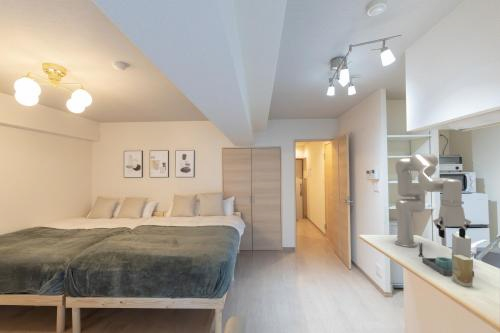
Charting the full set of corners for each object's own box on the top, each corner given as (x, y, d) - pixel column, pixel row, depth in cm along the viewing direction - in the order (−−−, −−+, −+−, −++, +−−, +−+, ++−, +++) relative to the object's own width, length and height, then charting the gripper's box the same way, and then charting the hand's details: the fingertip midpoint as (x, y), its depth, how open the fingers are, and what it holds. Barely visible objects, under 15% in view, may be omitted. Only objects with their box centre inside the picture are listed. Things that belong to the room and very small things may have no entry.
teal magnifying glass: (432, 264, 134) (432, 254, 134) (448, 264, 134) (447, 254, 134) (449, 274, 122) (448, 262, 122) (466, 274, 121) (466, 263, 121)
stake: (417, 255, 149) (417, 242, 149) (421, 255, 149) (421, 242, 149) (420, 257, 147) (419, 243, 147) (424, 257, 147) (424, 243, 147)
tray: (422, 262, 139) (422, 257, 139) (448, 262, 137) (448, 258, 138) (444, 275, 121) (444, 270, 121) (474, 276, 120) (473, 271, 120)
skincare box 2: (451, 280, 116) (451, 254, 116) (460, 280, 117) (460, 254, 117) (464, 287, 110) (464, 259, 110) (473, 286, 110) (473, 259, 110)
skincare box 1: (451, 260, 142) (451, 232, 142) (466, 261, 139) (466, 234, 139) (456, 265, 134) (455, 236, 134) (472, 267, 131) (471, 237, 131)
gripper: (464, 202, 128) (464, 235, 128) (429, 202, 129) (429, 234, 130) (476, 205, 120) (476, 239, 121) (438, 204, 122) (438, 239, 122)
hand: (451, 237), depth 125 cm, fingers open, 9 cm apart
